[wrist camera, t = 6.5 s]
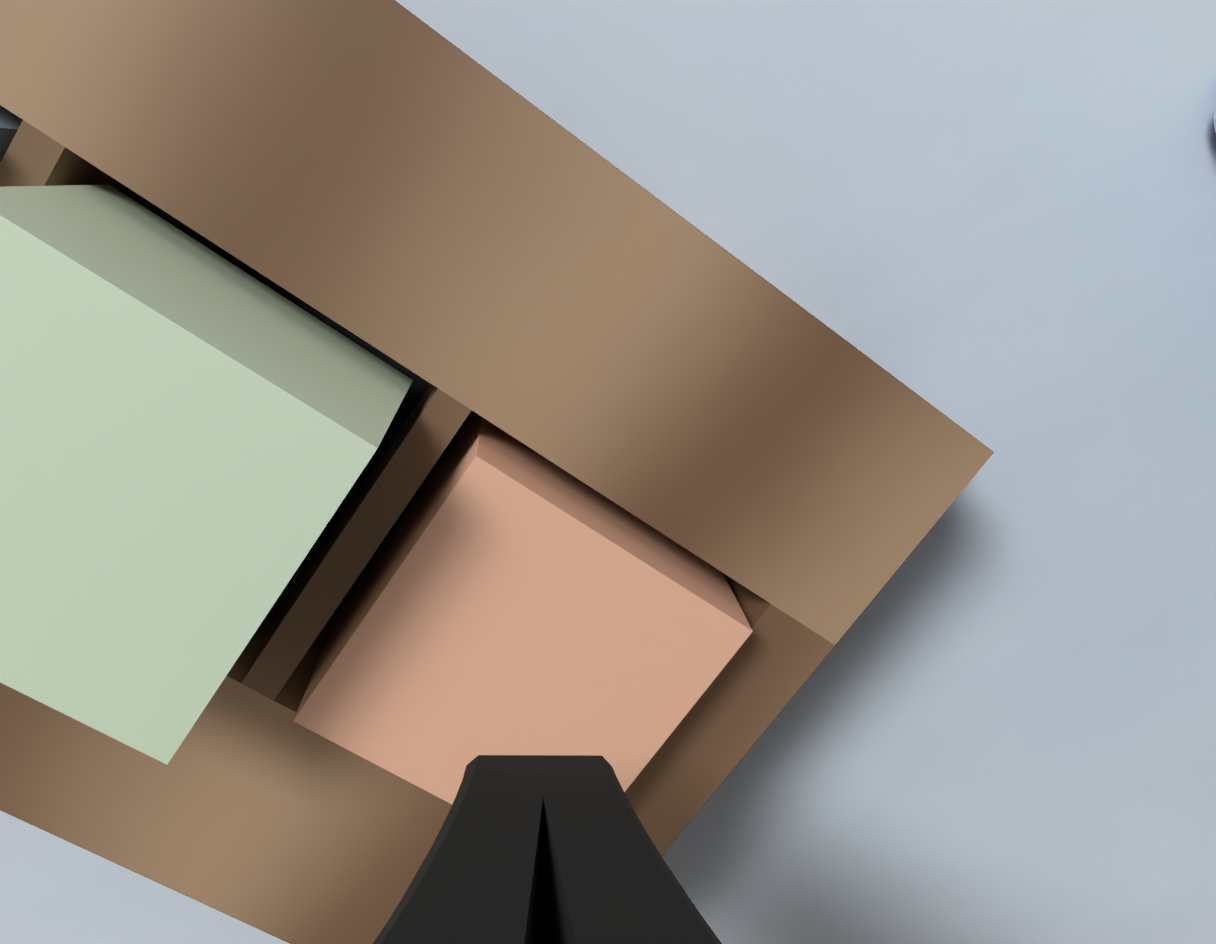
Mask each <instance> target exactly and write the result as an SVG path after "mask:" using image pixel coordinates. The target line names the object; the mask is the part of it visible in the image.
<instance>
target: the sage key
mask: <svg viewBox="0 0 1216 944" xmlns="http://www.w3.org/2000/svg"><path fill="white" fill-rule="evenodd" d="M412 381H413V380H412V379H410V378H409V377H407V376H406V375H404V374H402V373H401V372H399V371H398V370H396V369H395V368H393V367H392V366H390V365H389V364H387V363H385V362H384V361H382V360H381V359H379V358H378V357H376V356H375V355H373V354H371V353H370V352H368V351H367V350H365V349H364V348H362V347H361V346H359V345H358V344H356V343H354V342H353V341H351V340H350V339H348V338H347V337H345V336H344V335H342V334H340V333H339V332H337V331H336V330H334V329H333V328H331V327H330V326H328V325H326V324H325V323H323V322H322V321H320V320H319V319H317V318H316V317H314V316H313V315H311V314H309V313H308V312H306V311H305V310H303V309H302V308H300V307H299V306H297V305H295V304H294V303H292V302H291V301H289V300H288V299H286V298H285V297H283V296H282V295H280V294H278V293H277V292H275V291H274V290H272V289H271V288H269V287H268V286H266V285H264V284H263V283H261V282H260V281H258V280H257V279H255V278H254V277H252V276H250V275H249V274H247V273H246V272H244V271H243V270H241V269H240V268H238V267H237V266H235V265H233V264H232V263H230V262H229V261H227V260H226V259H224V258H223V257H221V256H219V255H218V254H216V253H215V252H213V251H212V250H210V249H209V248H207V247H206V246H204V245H202V244H201V243H199V242H198V241H196V240H195V239H193V238H192V237H190V236H188V235H187V234H185V233H184V232H182V231H181V230H179V229H178V228H176V227H174V226H173V225H171V224H170V223H168V222H167V221H165V220H164V219H162V218H161V217H159V216H157V215H156V214H154V213H153V212H151V211H150V210H148V209H147V208H145V207H143V206H142V205H140V204H139V203H137V202H136V201H134V200H133V199H131V198H130V197H128V196H126V195H125V194H123V193H122V192H120V191H119V190H117V189H116V188H114V187H112V186H111V185H61V186H6V187H0V683H2V684H4V685H6V686H8V687H10V688H13V689H15V690H17V691H19V692H21V693H23V694H25V695H27V696H29V697H31V698H33V699H35V700H37V701H39V702H41V703H43V704H45V705H47V706H49V707H51V708H53V709H55V710H57V711H59V712H61V713H63V714H65V715H67V716H69V717H71V718H73V719H75V720H77V721H79V722H81V723H83V724H85V725H87V726H89V727H91V728H93V729H95V730H98V731H100V732H102V733H104V734H106V735H108V736H110V737H112V738H114V739H116V740H118V741H120V742H122V743H124V744H126V745H128V746H130V747H132V748H134V749H136V750H138V751H140V752H142V753H144V754H146V755H148V756H150V757H152V758H154V759H156V760H158V761H160V762H162V763H164V764H166V765H167V764H168V763H169V761H170V760H171V758H172V757H173V755H174V754H175V752H176V751H177V749H178V748H179V746H180V745H181V743H182V742H183V740H184V739H185V737H186V736H187V734H188V733H189V731H190V730H191V728H192V727H193V725H194V724H195V722H196V721H197V719H198V718H199V716H200V715H201V713H202V712H203V710H204V709H205V707H206V706H207V704H208V703H209V701H210V700H211V698H212V697H213V695H214V694H215V692H216V691H217V689H218V688H219V686H220V685H221V683H222V682H223V680H224V679H225V677H226V676H227V674H228V673H229V671H230V670H231V668H232V667H233V665H234V664H235V662H236V661H237V659H238V658H239V656H240V655H241V653H242V652H243V650H244V649H245V647H246V646H247V644H248V643H249V641H250V640H251V638H252V636H253V635H254V633H255V632H256V630H257V629H258V627H259V626H260V624H261V623H262V621H263V620H264V618H265V617H266V615H267V614H268V612H269V611H270V609H271V608H272V606H273V605H274V603H275V602H276V600H277V599H278V597H279V596H280V594H281V593H282V591H283V590H284V588H285V587H286V585H287V584H288V582H289V581H290V579H291V578H292V576H293V575H294V573H295V572H296V570H297V569H298V567H299V566H300V564H301V563H302V561H303V560H304V558H305V557H306V555H307V554H308V552H309V551H310V549H311V548H312V546H313V545H314V543H315V542H316V540H317V539H318V537H319V536H320V534H321V533H322V531H323V530H324V528H325V527H326V525H327V524H328V522H329V521H330V519H331V518H332V516H333V515H334V513H335V512H336V510H337V509H338V507H339V506H340V504H341V503H342V501H343V500H344V498H345V497H346V495H347V494H348V492H349V491H350V489H351V488H352V486H353V485H354V483H355V482H356V480H357V479H358V477H359V476H360V474H361V473H362V471H363V470H364V468H365V467H366V465H367V464H368V462H369V461H370V459H371V458H372V456H373V454H374V453H375V451H376V450H377V448H378V447H379V445H380V443H381V441H382V439H383V437H384V435H385V433H386V431H387V429H388V427H389V425H390V424H391V422H392V420H393V418H394V416H395V414H396V412H397V410H398V408H399V406H400V404H401V402H402V400H403V399H404V397H405V395H406V393H407V391H408V389H409V387H410V385H411V383H412Z"/></svg>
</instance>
